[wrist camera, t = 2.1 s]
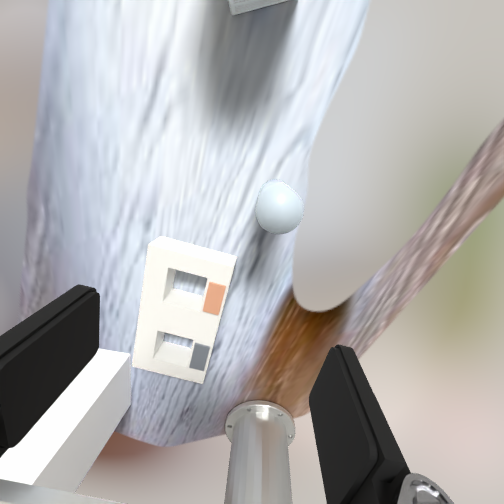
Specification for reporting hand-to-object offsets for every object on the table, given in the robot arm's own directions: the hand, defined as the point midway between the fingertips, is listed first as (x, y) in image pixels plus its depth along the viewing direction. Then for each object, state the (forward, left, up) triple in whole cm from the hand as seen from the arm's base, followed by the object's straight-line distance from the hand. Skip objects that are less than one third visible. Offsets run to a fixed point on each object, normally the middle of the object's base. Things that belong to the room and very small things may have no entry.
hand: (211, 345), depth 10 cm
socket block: (-9, +14, -25) cm, 30 cm away
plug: (+2, -4, -25) cm, 25 cm away
